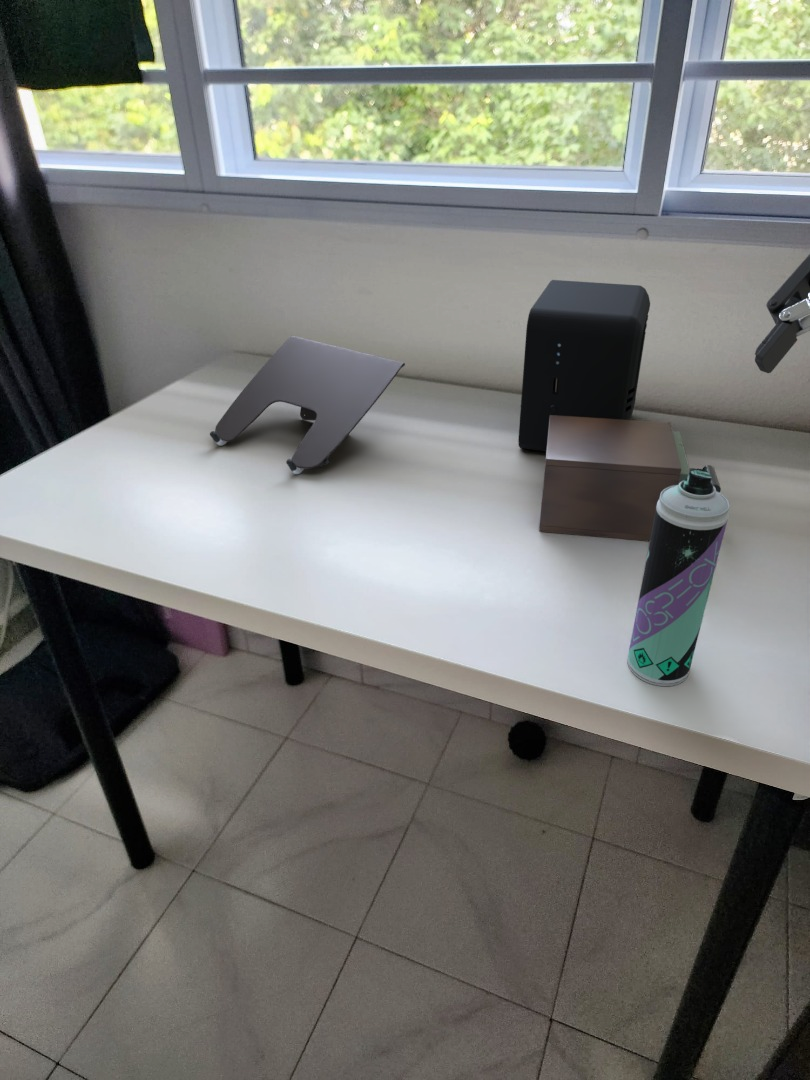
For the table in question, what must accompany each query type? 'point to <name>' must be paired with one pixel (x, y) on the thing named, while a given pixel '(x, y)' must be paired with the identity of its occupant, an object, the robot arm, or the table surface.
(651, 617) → the spray can
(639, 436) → the cabinet
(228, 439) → the laptop tray
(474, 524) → the table surface
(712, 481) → the drawer
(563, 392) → the black nas enclosure
